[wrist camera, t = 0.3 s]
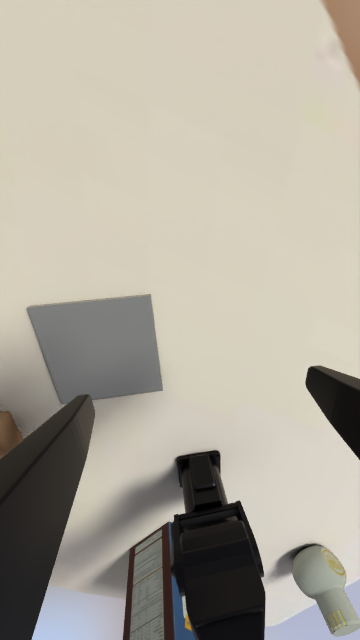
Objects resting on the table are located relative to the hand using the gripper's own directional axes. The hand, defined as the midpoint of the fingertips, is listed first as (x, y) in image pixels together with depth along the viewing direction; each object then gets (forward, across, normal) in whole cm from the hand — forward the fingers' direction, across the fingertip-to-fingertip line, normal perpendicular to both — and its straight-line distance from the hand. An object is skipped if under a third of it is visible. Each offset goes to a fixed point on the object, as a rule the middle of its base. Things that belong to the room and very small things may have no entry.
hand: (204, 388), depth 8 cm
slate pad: (+14, +8, +5) cm, 17 cm away
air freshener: (+15, -26, +62) cm, 69 cm away
